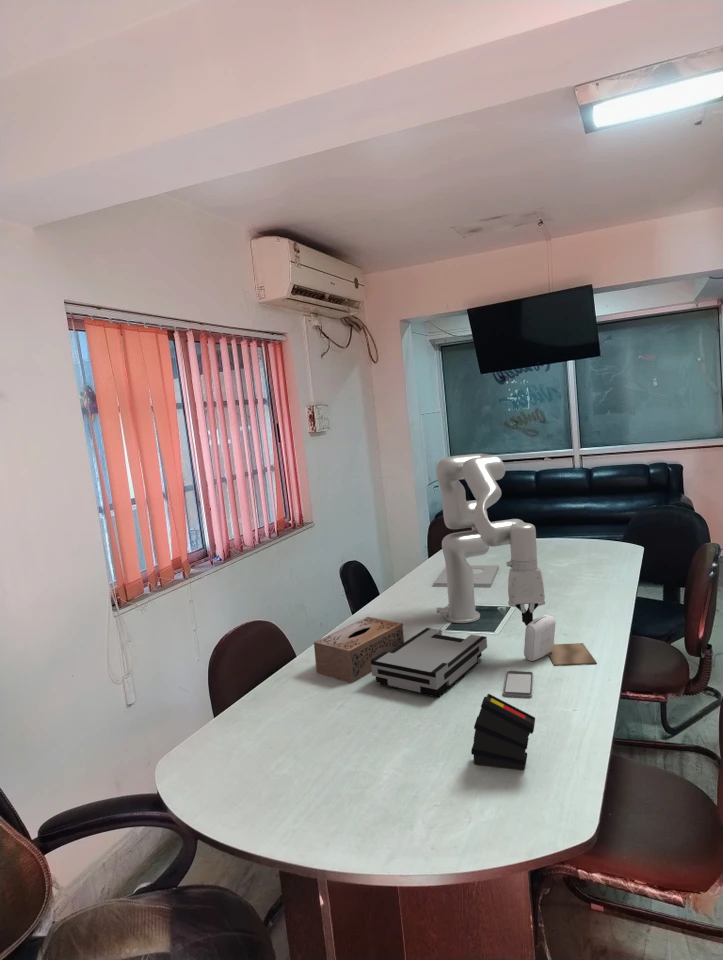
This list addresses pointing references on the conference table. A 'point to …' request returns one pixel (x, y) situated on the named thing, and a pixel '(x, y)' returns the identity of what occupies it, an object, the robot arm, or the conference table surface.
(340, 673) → the tissue box cover
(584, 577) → the conference table surface
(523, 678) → the smartphone
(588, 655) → the board
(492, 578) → the award plaque
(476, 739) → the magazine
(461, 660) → the game console
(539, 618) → the photo printer
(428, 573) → the conference table surface
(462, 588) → the robot arm
